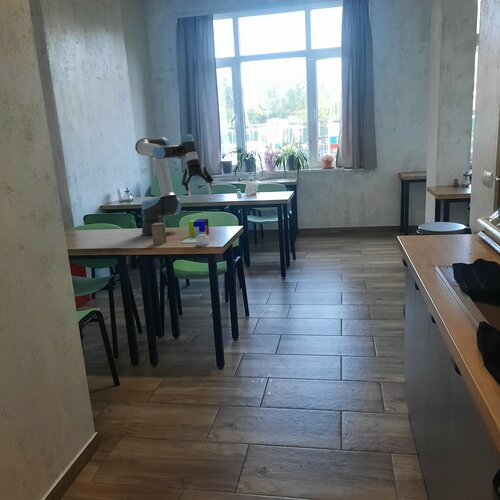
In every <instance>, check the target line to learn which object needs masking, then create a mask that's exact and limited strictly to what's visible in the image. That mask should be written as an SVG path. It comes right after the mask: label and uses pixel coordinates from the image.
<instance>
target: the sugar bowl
mask: <svg viewBox="0 0 500 500" xmlns="http://www.w3.org/2000/svg"><path fill="white" fill-rule="evenodd" d="M208 237H209V234H208V235H206V234H200V235H198V236H196V242H197V243H196V246H197V247H204V246H205V245H206V246H208V244H210V243H209V239H208Z"/></svg>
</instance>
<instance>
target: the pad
mask: <svg viewBox="0 0 500 500" xmlns="http://www.w3.org/2000/svg"><path fill="white" fill-rule="evenodd" d="M210 239H211V237H209V236H208V240H210ZM180 243H181V244H197V242H196V237H190V236H189V237H187V238H186V239H184V240H182V241H181V242H180Z"/></svg>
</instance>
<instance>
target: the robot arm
mask: <svg viewBox="0 0 500 500" xmlns="http://www.w3.org/2000/svg"><path fill="white" fill-rule="evenodd" d="M180 141H181V143H180V144H170V142H169V139H168V138H166V137H162V136H156V137H154V136H153V137H143V138H140V139H139V140H137V141H136V142H135V147H134V148H135V152H137V154H138V155H140V156H141V155H142V156H151V159H152V160H153V161H154V165H155V170H156V174H157V179H158V184H159V185H158V186H159V191H160V196H159V198H158V197H153V198H148V199H144V200H142V202H141V213H142V220H143V221H142V222H143V223H142V230H141V235H142V236H152V226H151V225H152V224H154V223H162V219H161V218H163V217H170V216H175V215H176V216H177V215H179V214H180V213H181V210H182V201H181V198H179V197H177V194H176V193H174V188H173V183H172V177H171V172H170V167H169V166H170V165H169V163H168V159H174V158H175V159H178V160H182V159H185V162H186V166H187V168H185V169H183V170H182V171H183V176H182V180H181V186H184V188H185V191H186V192H187V194H188V195H187V196H188V197H189V198H190V197H192V190H191V186H190V184H189V183H190V181H191V179H192V177H200V178H201V179H203V180H204V181H205V182H206V187H207V191H208V194H209V195H211V194H212V193H213V192H212V183H213V182H214V179H213V177H212V176H211V175H210V173H209V171H208V170H207V168H206V166H203V167H201V163H200V160H199V156H198V151H197V147H196V146H197V145H196V143H195V142H196V141H195V139H194V136H193V135H192V134H184V135H182V136H181V137H180ZM188 173H189V175H188ZM187 175H188V176H187Z"/></svg>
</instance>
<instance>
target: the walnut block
mask: <svg viewBox="0 0 500 500" xmlns="http://www.w3.org/2000/svg"><path fill="white" fill-rule="evenodd" d="M151 226H152V235H151V236H152V241H153V242H152V244H153V245H164V244H166V243H167V233H166V225H165V222H161V223H154V224H152V225H151Z"/></svg>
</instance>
